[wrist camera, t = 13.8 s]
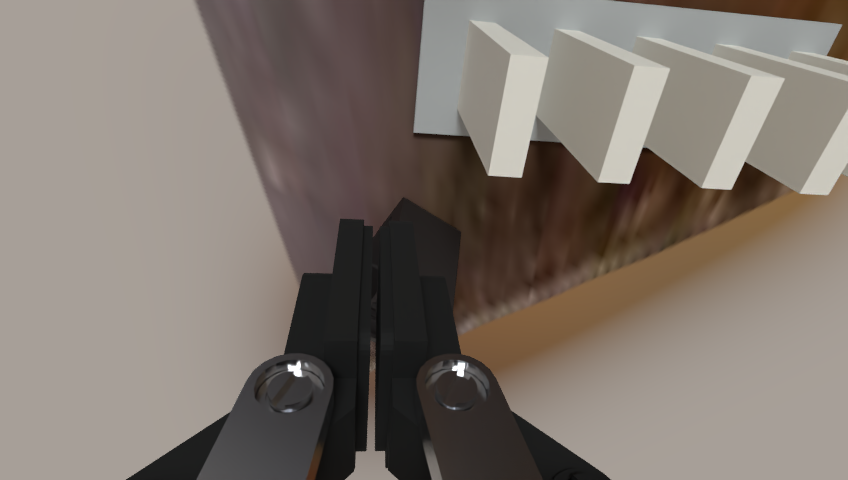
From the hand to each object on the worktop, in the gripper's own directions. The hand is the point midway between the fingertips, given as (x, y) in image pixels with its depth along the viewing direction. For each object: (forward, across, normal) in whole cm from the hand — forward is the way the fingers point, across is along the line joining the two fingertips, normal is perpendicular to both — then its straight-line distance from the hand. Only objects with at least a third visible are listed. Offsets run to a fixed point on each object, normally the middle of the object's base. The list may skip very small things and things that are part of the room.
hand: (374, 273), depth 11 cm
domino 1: (+25, -7, 0) cm, 26 cm away
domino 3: (+25, -19, 0) cm, 31 cm away
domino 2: (+25, -13, 0) cm, 28 cm away
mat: (+25, -18, 0) cm, 31 cm away
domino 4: (+25, -25, 0) cm, 35 cm away
